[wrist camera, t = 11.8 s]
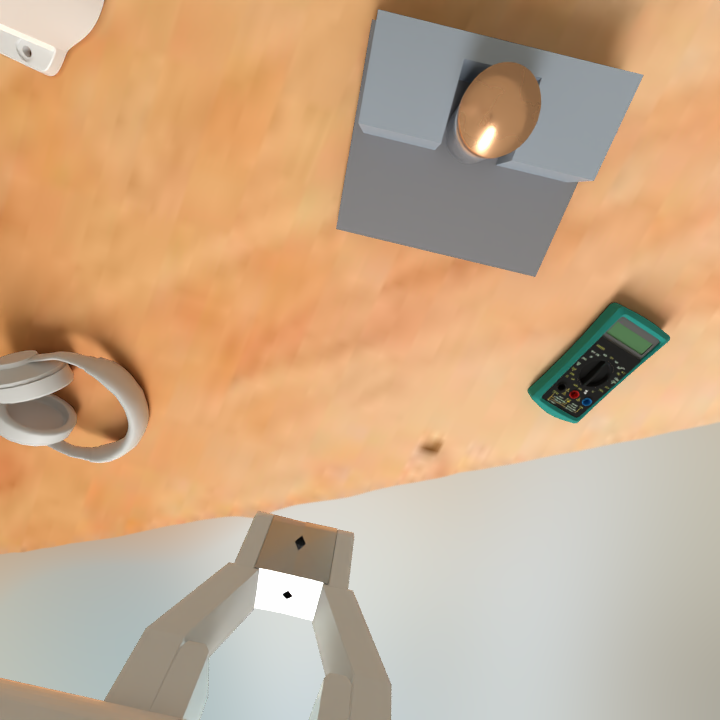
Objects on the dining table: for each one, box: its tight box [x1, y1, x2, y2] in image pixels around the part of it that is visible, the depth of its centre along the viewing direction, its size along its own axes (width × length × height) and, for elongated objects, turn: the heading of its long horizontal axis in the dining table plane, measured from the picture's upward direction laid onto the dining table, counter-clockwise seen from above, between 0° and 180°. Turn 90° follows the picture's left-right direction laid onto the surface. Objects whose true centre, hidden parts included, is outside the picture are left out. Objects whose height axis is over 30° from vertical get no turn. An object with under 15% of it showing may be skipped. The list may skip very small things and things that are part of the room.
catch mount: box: [336, 9, 643, 277], centre depth 31 cm, size 22×17×6 cm
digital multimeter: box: [528, 302, 670, 423], centre depth 41 cm, size 7×15×3 cm, turn 151°
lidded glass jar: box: [446, 62, 541, 164], centre depth 27 cm, size 5×5×9 cm
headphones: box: [0, 350, 149, 463], centre depth 49 cm, size 18×8×20 cm
